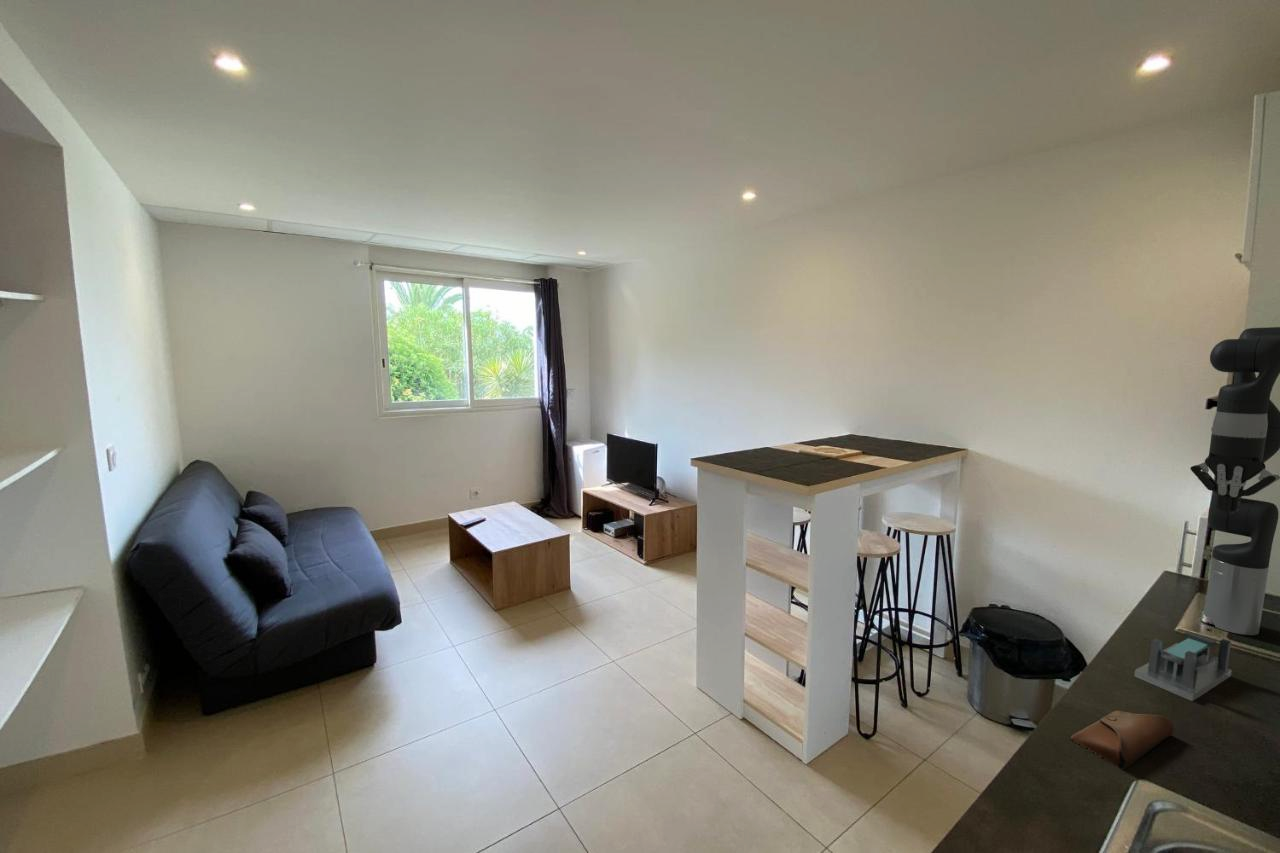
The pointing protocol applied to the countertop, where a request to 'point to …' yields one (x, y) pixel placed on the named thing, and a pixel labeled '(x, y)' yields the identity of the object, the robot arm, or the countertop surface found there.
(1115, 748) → the sunglasses case
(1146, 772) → the countertop surface
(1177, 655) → the teal tile grey cap
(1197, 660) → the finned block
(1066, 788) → the countertop surface
